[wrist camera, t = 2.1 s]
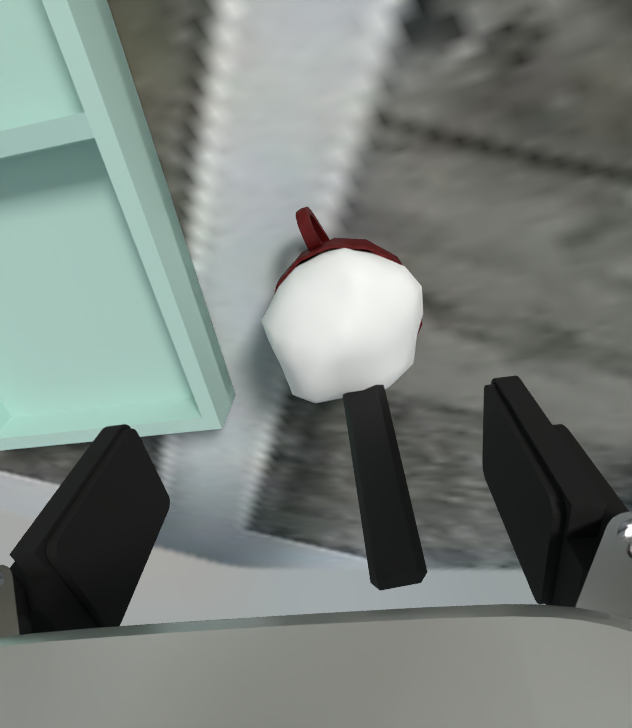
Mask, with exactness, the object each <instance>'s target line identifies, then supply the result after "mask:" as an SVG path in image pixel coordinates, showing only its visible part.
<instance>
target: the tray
mask: <svg viewBox="0 0 632 728" xmlns="http://www.w3.org/2000/svg"><path fill="white" fill-rule="evenodd" d="M234 398H235V392H234V389H233V386H232V383H231V380H230V377H229V374H228V371H227V368H226V364H225V361H224V358H223V355H222V352H221V349H220V346H219V343H218V340H217V337H216V334H215V331H214V328H213V324H212V321H211V318H210V315H209V312H208V309H207V306H206V303H205V300H204V297H203V294H202V291H201V288H200V285H199V281H198V278H197V275H196V272H195V269H194V266H193V263H192V260H191V257H190V254H189V251H188V248H187V245H186V242H185V238H184V235H183V232H182V229H181V226H180V223H179V220H178V217H177V214H176V211H175V208H174V205H173V202H172V198H171V195H170V192H169V189H168V186H167V183H166V180H165V177H164V174H163V171H162V168H161V165H160V162H159V159H158V155H157V152H156V149H155V146H154V143H153V140H152V137H151V134H150V131H149V128H148V125H147V122H146V119H145V116H144V112H143V109H142V106H141V103H140V100H139V97H138V94H137V91H136V88H135V85H134V82H133V79H132V76H131V72H130V69H129V66H128V63H127V60H126V57H125V54H124V51H123V48H122V45H121V42H120V39H119V36H118V33H117V29H116V26H115V23H114V20H113V17H112V14H111V11H110V8H109V5H108V2H107V0H0V450H10V449H21V448H31V447H41V446H51V445H61V444H71V443H82V442H92V441H94V439H95V438H96V437H97V435H98V434H99V433H100V431H101V430H102V429H103V428H104V427H107V426H114V425H122V424H127V425H129V426H130V427H131V429H135V430H136V431H137V432H138V434H139V436H140V437H143V436H153V435H163V434H173V433H183V432H193V431H204V430H214V429H222V427H223V424H224V422H225V419H226V417H227V415H228V412H229V410H230V407H231V405H232V402H233V400H234Z"/></svg>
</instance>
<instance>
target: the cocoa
mask: <svg viewBox="0 0 632 728" xmlns="http://www.w3.org/2000/svg"><path fill="white" fill-rule="evenodd" d="M296 220H297V224H298V227H299V230H300V232H301V234H302V237H303V239H304V241H305V243H306V246H307V248H308V250H306V251H304V252H302V253H301V254H300V255H299V256H298V258H297V259H296V260H295V261H294V262H293V264H292V265H291V266H290V267H289V268H288V269H287V271H286V272H285V273H284V274H283V275H282V277H281V278H280V280H279V281H278V283H277V285H276V290H275V294H274V297H273V299H272V301H271V303H270V305H269V307H268V309H267V311H266V313H265V315H264V316H263V318H262V320H261V322H262V325H263V327H264V330H265V332H266V335H267V338H268V340H269V343H270V345H271V347H272V349H273V351H274V353H275V355H276V357H277V359H278V360H279V362H280V364H281V367H282V369H283V372H284V374H285V377H286V379H287V382H288V384H289V387H290V389H291V392H292V394H293V395H295V396H297V397H300V398H303V399H305V400H308V401H310V402H313V403H320V402H325V401H330V400H334V399H339V398H343V400H344V407H345V414H346V420H347V427H348V434H349V440H350V447H351V454H352V461H353V467H354V474H355V481H356V487H357V494H358V501H359V508H360V514H361V521H362V528H363V534H364V541H365V548H366V555H367V561H368V568H369V575H370V581H371V583H372V584H373V585H374V586H375V587H377V588H378V589H379V590H385V589H390V588H396V587H401V586H406V585H411V584H417V583H421V582H422V580H423V578H424V577H425V575H426V573H427V569H426V564H425V560H424V556H423V551H422V547H421V543H420V539H419V534H418V530H417V526H416V521H415V517H414V513H413V508H412V504H411V500H410V496H409V491H408V487H407V483H406V478H405V474H404V470H403V466H402V461H401V457H400V453H399V448H398V444H397V440H396V436H395V431H394V427H393V423H392V418H391V414H390V410H389V405H388V401H387V397H386V393H385V389H386V388H388V387H389V386H390V385H392V384H393V383H394V382H395V381H396V380H397V379H398V378H399V377H400V376H401V375H402V374H403V373H404V372H405V371H406V370H407V369H408V368H409V367H410V366H411V365H412V364H413V363H414V354H415V345H416V338H417V335H418V333H419V331H420V328H421V326H422V315H423V301H422V286H421V285H420V284H419V283H418V282H417V280H416V279H415V278H414V277H413V276H412V274H411V273H410V272H409V271H408V270H407V268H406V267H405V266H403V265H402V263H401V262H400V260H399V259H398V257H397V256H395V255H393V254H391V253H389V252H388V251H386V250H384V249H382V248H380V247H379V246H377V245H375V244H373V243H371V242H370V241H368V240H366V239H345V238H333V239H331V240H330V239H329V238H328V236H327V234H326V233H325V231H324V230H323V228H322V226H321V225H320V223H319V222H318V220H317V218H316V217H315V215H314V214H313V212H312V211H311V210H310V209H309V208H308V207H304V208H301V209H300V210H298V211H297V212H296Z"/></svg>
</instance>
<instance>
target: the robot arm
mask: <svg viewBox="0 0 632 728" xmlns="http://www.w3.org/2000/svg"><path fill="white" fill-rule="evenodd" d="M483 472H484V476H485V479H486V482H487V484H488V487H489V489H490V491H491V494H492V496H493V499H494V501H495V504H496V506H497V508H498V511H499V513H500V516H501V518H502V521H503V523H504V525H505V528H506V530H507V533H508V535H509V538H510V540H511V543H512V545H513V547H514V550H515V552H516V555H517V557H518V560H519V562H520V564H521V567H522V569H523V572H524V574H525V576H526V579H527V581H528V584H529V586H530V589H531V591H532V594H533V596H534V598H535V600H536V602H537V603H538V604H546V605H525V604H520V605H519V604H513V605H512V604H502V605H501V604H500V605H475V606H449V607H426V608H425V607H424V608H407V609H390V610H372V611H354V612H336V613H319V614H303V615H287V616H270V617H254V618H238V619H222V620H206V621H193V622H192V621H190V622H176V623H161V624H147V625H133V626H120V624H121V622H122V619H123V617H124V615H125V612H126V610H127V607H128V605H129V603H130V600H131V598H132V596H133V593H134V591H135V588H136V586H137V584H138V581H139V579H140V576H141V574H142V572H143V570H144V567H145V564H146V562H147V560H148V557H149V555H150V553H151V550H152V548H153V546H154V543H155V541H156V539H157V536H158V534H159V531H160V529H161V527H162V524H163V522H164V520H165V517H166V515H167V512H168V510H169V506H170V499H169V496H168V493H167V491H166V489H165V487H164V485H163V483H162V481H161V479H160V477H159V475H158V473H157V471H156V469H155V467H154V465H153V463H152V461H151V459H150V457H149V455H148V453H147V451H146V449H145V447H144V445H143V442H142V440H141V438H140V436H139V434H138V432H137V431H136V430H135V429H131V427H130V426H129V425H127V424H122V425H114V426H107V427H104V428H103V429H102V430H101V431H100V433H99V434H98V435H97V437H96V438H95V439H94V441H93V442H92V444H91V445H90V446H89V448H88V449H87V450H86V452H85V453H84V454H83V456H82V457H81V458H80V460H79V461H78V463H77V464H76V465H75V467H74V468H73V469H72V471H71V472H70V473H69V475H68V476H67V477H66V479H65V480H64V481H63V483H62V484H61V486H60V487H59V488H58V490H57V491H56V492H55V494H54V495H53V496H52V498H51V499H50V500H49V502H48V503H47V505H46V506H45V507H44V509H43V510H42V511H41V513H40V514H39V515H38V517H37V518H36V519H35V521H34V522H33V523H32V525H31V526H30V528H29V529H28V530H27V532H26V533H25V534H24V536H23V537H22V539H21V540H20V541H19V542H18V544H17V545H16V547H15V548H14V549H13V551H12V552H11V553H10V556H11V557H12V558H13V559H14V561H15V562H14V563H13V565H12V566H11V567H10V568H8V567H7V566H4V565H0V728H632V511H631V512H629V511H628V510H627V508H626V507H625V506H624V504H623V503H622V502H621V500H620V499H619V497H618V496H617V495H616V493H615V492H614V491H613V489H612V488H611V487H610V485H609V484H608V483H607V481H606V480H605V478H604V477H603V476H602V474H601V473H600V472H599V470H598V469H597V468H596V466H595V465H594V464H593V462H592V461H591V459H590V458H589V457H588V455H587V454H586V453H585V451H584V450H583V449H582V447H581V446H580V445H579V443H578V442H577V441H576V439H575V438H574V436H573V435H572V434H571V432H570V431H569V430H568V429H567V428H566V427H565V426H564V425H562V424H558V425H552V424H551V422H550V421H549V420H548V418H547V417H546V415H545V414H544V412H543V411H542V410H541V408H540V407H539V405H538V404H537V402H536V401H535V399H534V398H533V397H532V395H531V394H530V392H529V391H528V389H527V388H526V387H525V385H524V384H523V382H522V381H521V379H520V378H519V377H518V376H509V377H501V378H494V379H492V382H491V385H485V387H484V416H483Z"/></svg>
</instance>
